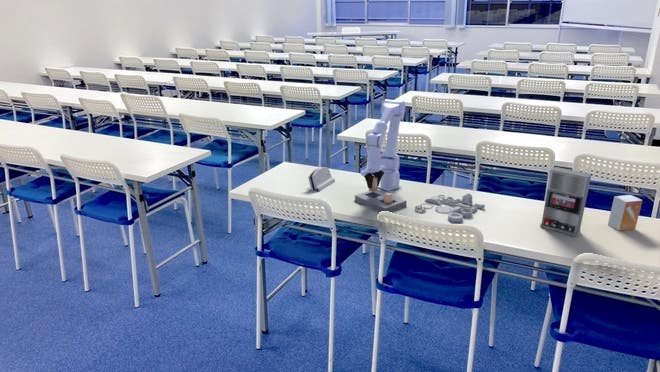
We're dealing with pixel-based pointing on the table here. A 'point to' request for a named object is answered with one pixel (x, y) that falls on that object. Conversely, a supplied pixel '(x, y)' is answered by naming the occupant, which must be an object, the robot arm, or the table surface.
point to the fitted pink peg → (388, 198)
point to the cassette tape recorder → (565, 200)
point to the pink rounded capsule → (374, 185)
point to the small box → (625, 212)
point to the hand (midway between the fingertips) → (373, 186)
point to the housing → (379, 201)
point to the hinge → (320, 179)
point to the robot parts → (454, 213)
